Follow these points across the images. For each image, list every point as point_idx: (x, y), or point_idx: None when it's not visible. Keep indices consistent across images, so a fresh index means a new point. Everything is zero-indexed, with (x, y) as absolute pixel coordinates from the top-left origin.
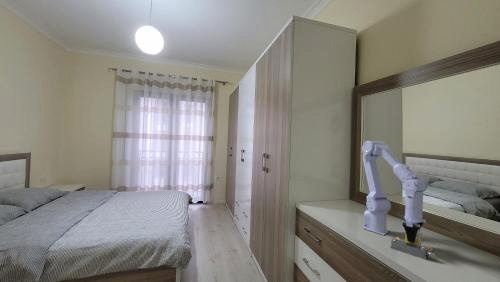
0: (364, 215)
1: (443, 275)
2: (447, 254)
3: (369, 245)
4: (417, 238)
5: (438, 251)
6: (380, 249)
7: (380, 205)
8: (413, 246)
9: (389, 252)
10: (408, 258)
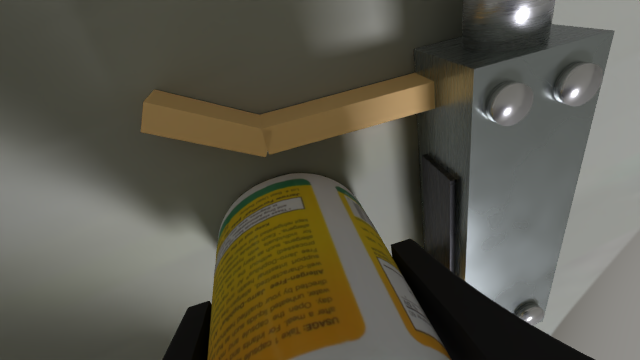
0: None
1: None
2: None
3: (563, 317)
4: (391, 275)
5: (57, 43)
6: (578, 270)
7: None
8: (543, 184)
9: (588, 227)
10: (607, 116)
